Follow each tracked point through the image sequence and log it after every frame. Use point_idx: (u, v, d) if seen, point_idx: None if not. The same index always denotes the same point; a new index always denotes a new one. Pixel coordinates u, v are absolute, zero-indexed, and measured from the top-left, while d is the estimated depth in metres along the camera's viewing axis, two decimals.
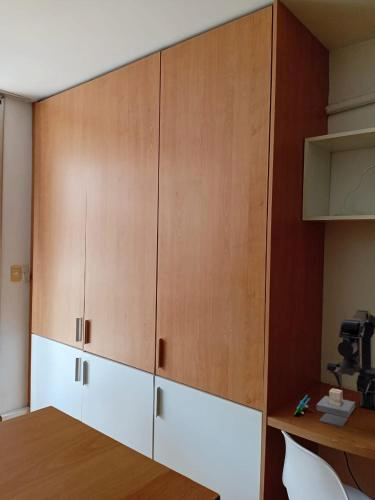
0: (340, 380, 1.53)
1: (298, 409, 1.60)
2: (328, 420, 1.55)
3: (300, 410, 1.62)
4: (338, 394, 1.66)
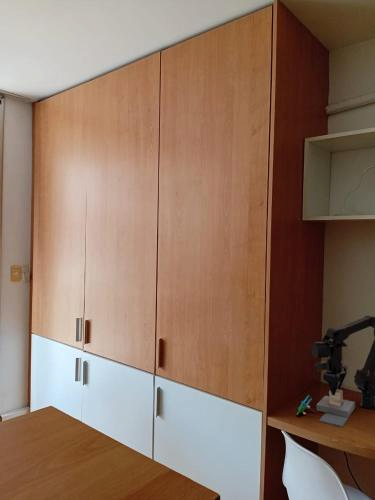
0: (338, 381, 1.72)
1: (300, 409, 1.60)
2: (328, 420, 1.55)
3: (302, 410, 1.62)
4: (338, 394, 1.66)
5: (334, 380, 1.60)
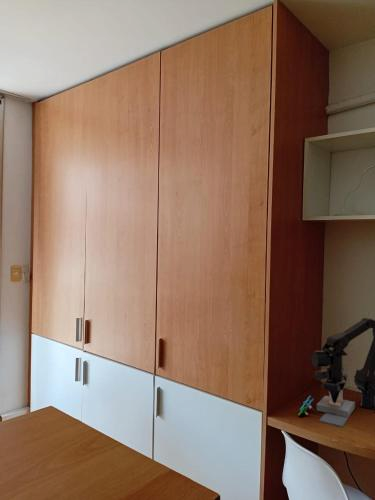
0: None
1: (302, 410, 1.59)
2: (328, 420, 1.55)
3: (304, 411, 1.61)
4: None
5: (334, 389, 1.60)
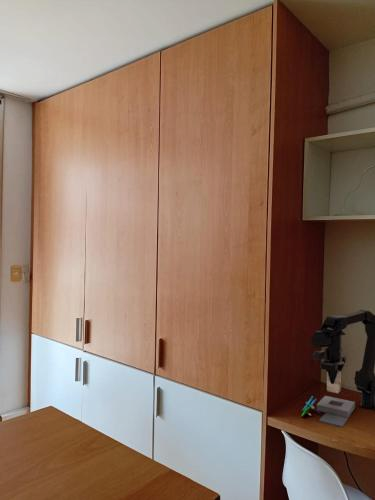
0: None
1: (306, 411, 1.59)
2: (328, 420, 1.55)
3: (307, 411, 1.60)
4: None
5: (331, 369, 1.55)
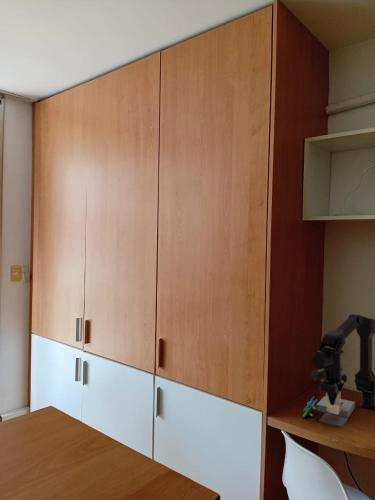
0: None
1: (307, 411, 1.58)
2: (328, 420, 1.55)
3: (309, 412, 1.60)
4: None
5: (331, 391, 1.48)
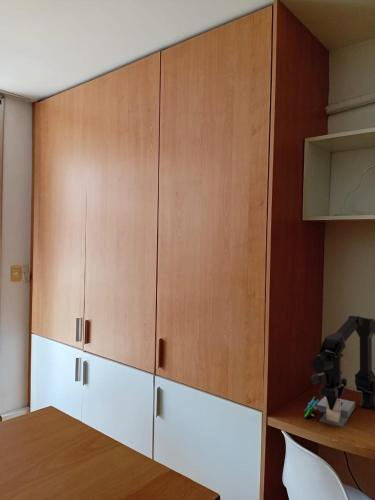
0: None
1: (309, 411, 1.58)
2: (328, 420, 1.55)
3: (310, 412, 1.60)
4: (336, 403, 1.54)
5: (331, 395, 1.48)
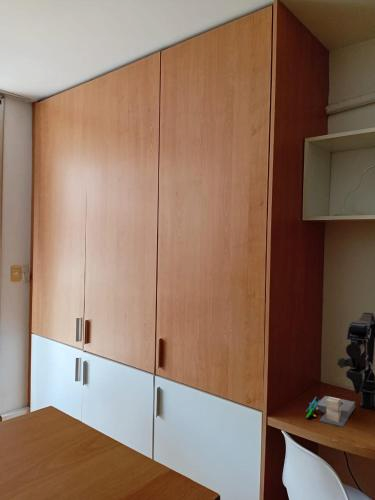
0: None
1: (311, 412, 1.57)
2: (328, 420, 1.55)
3: None
4: (336, 403, 1.54)
5: (358, 377, 1.50)
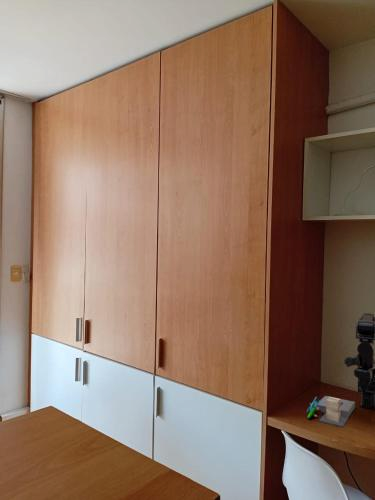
0: None
1: (312, 412, 1.57)
2: (328, 420, 1.55)
3: None
4: (336, 403, 1.54)
5: (366, 376, 1.51)
